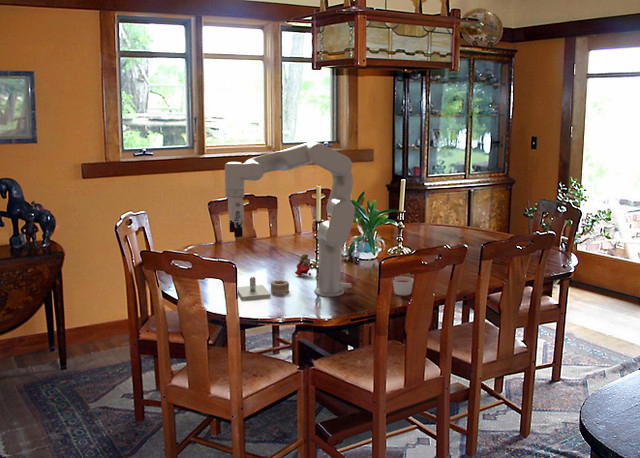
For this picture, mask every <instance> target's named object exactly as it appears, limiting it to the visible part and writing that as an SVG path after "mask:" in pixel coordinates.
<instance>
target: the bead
mask: <svg viewBox="0 0 640 458" xmlns="http://www.w3.org/2000/svg"><path fill="white" fill-rule="evenodd" d="M270 292H271V294H274V295H284V294H285V295H286V294H288V293H289V292H290V283H289V281H288V280H282V279H279V280H278V279H277V280H272V281H271V282H270Z"/></svg>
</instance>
